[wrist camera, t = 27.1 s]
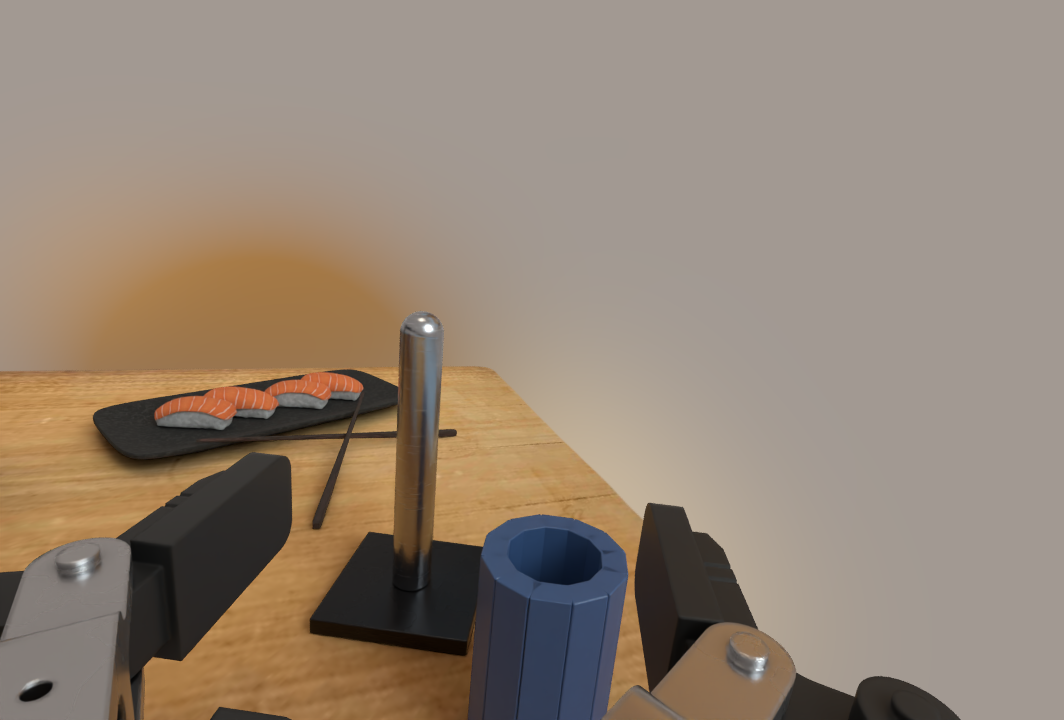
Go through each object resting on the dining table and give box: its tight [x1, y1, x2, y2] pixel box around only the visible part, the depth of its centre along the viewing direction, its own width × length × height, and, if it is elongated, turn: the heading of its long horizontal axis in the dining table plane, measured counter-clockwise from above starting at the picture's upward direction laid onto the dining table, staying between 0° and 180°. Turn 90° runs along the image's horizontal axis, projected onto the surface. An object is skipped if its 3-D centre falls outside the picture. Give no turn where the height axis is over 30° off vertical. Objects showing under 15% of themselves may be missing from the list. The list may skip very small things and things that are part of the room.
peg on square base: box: [310, 311, 483, 655], centre depth 33 cm, size 9×9×18 cm
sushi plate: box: [93, 370, 457, 529], centre depth 55 cm, size 29×30×4 cm
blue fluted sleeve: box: [468, 514, 628, 720], centre depth 25 cm, size 6×6×10 cm
